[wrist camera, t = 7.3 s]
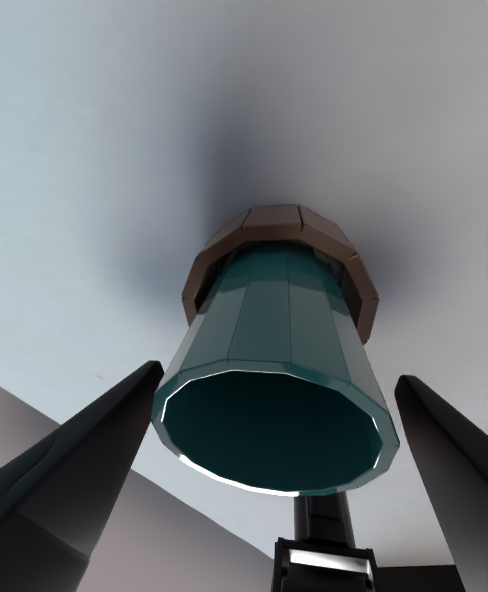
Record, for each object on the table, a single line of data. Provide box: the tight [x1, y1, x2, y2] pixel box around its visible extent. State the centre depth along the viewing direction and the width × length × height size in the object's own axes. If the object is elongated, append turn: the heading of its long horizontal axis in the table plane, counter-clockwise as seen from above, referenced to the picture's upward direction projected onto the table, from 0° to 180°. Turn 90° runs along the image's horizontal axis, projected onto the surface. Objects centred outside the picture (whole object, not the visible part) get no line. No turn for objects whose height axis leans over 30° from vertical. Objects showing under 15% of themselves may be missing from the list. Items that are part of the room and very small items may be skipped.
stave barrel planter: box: [182, 204, 379, 345], centre depth 13 cm, size 9×9×4 cm
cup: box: [150, 240, 400, 496], centre depth 11 cm, size 7×7×10 cm
